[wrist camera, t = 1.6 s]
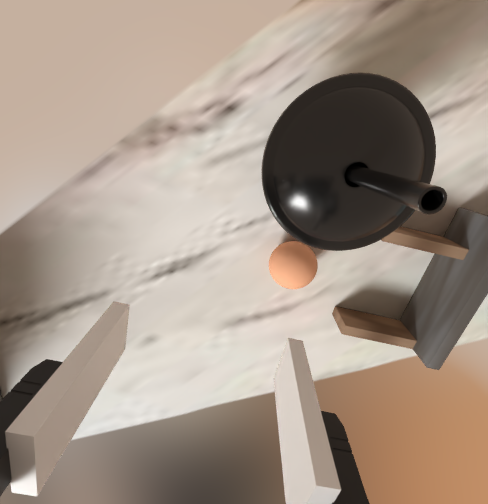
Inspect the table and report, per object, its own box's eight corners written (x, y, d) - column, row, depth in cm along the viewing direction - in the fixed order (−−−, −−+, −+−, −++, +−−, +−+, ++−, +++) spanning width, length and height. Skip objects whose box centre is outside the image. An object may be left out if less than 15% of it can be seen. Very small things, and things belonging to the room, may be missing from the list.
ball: (262, 270, 30) (264, 292, 25) (274, 230, 28) (278, 246, 24) (304, 279, 30) (313, 302, 26) (318, 240, 28) (329, 258, 24)
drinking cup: (318, 87, 23) (579, -109, 5) (356, 169, 26) (633, 248, 7) (239, 140, 25) (210, 147, 6) (282, 213, 27) (351, 370, 9)
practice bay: (332, 313, 31) (349, 351, 26) (384, 188, 26) (420, 202, 21) (406, 329, 32) (439, 369, 26) (470, 210, 27) (528, 229, 21)
